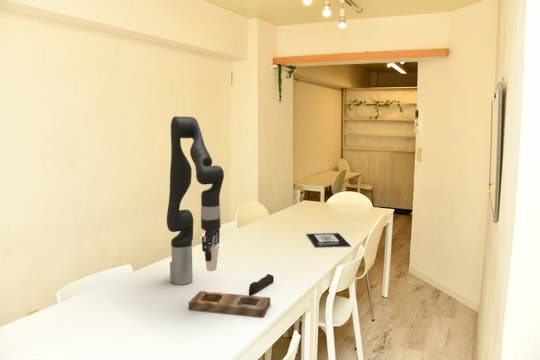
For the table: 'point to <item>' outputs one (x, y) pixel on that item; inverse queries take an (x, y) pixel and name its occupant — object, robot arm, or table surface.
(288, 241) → the table surface
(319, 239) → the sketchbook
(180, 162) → the robot arm
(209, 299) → the wooden tray
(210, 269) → the smoothie
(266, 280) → the hand tool
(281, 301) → the table surface
